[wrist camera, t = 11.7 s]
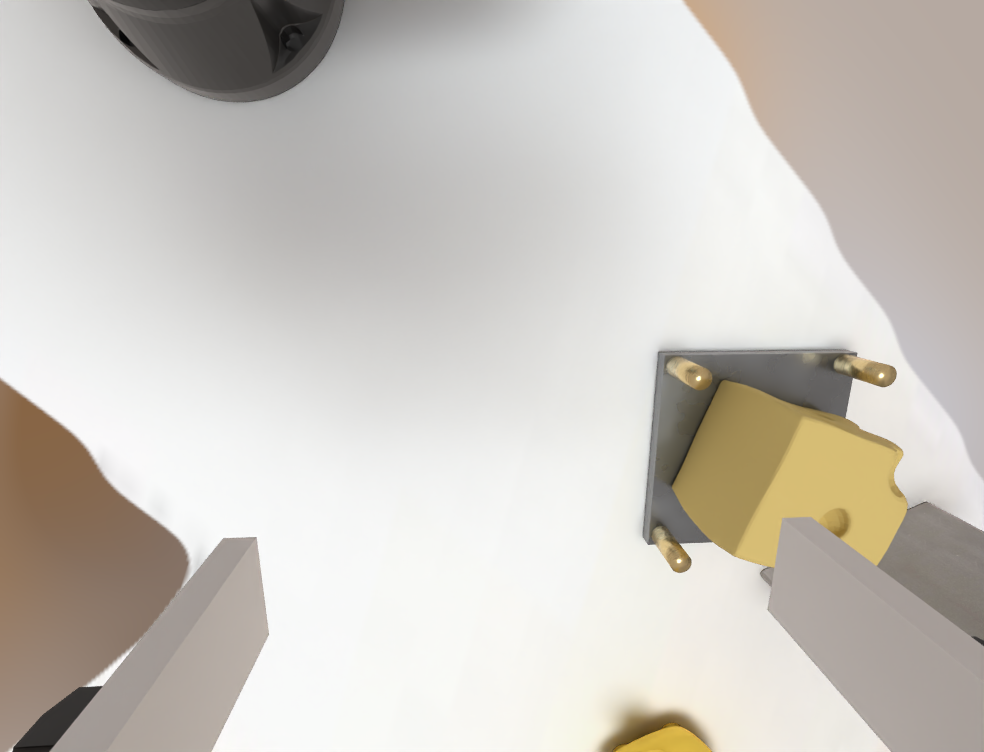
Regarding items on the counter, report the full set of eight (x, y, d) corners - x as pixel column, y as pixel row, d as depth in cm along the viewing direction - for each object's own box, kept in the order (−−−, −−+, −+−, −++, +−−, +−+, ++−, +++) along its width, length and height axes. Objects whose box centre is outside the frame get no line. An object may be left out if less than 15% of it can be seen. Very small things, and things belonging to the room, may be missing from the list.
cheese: (829, 411, 40) (948, 461, 30) (769, 525, 42) (862, 605, 33) (717, 371, 39) (804, 411, 29) (661, 491, 41) (725, 565, 31)
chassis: (658, 352, 39) (688, 366, 34) (845, 349, 40) (901, 363, 35) (642, 536, 43) (667, 574, 38) (813, 530, 44) (859, 566, 39)
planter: (781, 636, 47) (997, 892, 28) (758, 571, 45) (975, 799, 26) (943, 569, 46) (1274, 785, 28) (928, 499, 44) (1273, 681, 26)
